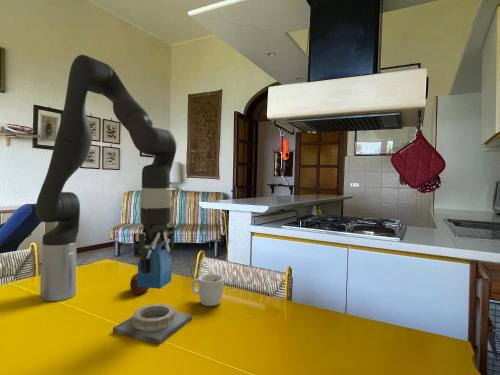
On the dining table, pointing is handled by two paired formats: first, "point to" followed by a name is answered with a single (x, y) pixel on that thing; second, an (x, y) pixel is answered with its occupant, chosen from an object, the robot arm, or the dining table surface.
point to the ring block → (153, 323)
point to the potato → (136, 285)
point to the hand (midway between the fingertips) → (155, 269)
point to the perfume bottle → (156, 269)
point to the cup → (209, 289)
